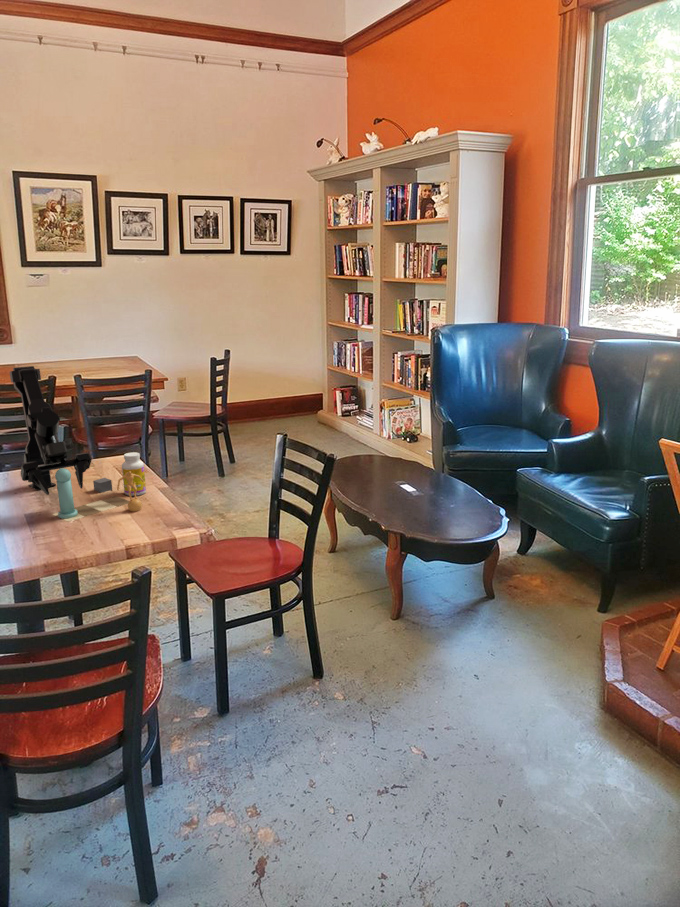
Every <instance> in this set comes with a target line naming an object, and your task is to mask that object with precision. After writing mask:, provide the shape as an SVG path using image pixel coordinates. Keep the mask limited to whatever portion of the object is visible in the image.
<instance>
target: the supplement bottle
mask: <svg viewBox="0 0 680 907" xmlns="http://www.w3.org/2000/svg"><path fill="white" fill-rule="evenodd" d="M140 457H141V455H140V452H133V451H132V452H127V453H124V454H123V460H124V462H123V463H122V464H121V472H122V477H123V476H124V475H125V474H126V473H127V472H129V471H130V472H131V473H132V474H135V475H139V476H140V477H141V478H142V479H143V481H144V482H145V484H144V482H142V481H141V479H140V478H139V477H134V478H133V483H135V485H136V488H137V492H136V497H137V496H142V495H144V494H146V492H147V486H146V484H147V483H146V476H145V475H146V474H145V465H144V462H143V461H142V460H140V459H141V458H140ZM122 482H123V483H122V484H123V492H124V494H125V495H126V496H129V491H128V489H127V487H126V484H128V482H127V480H126V478H124V479H122ZM134 491H135V490H134V489H133V487H131V497H135V496H134ZM129 497H130V496H129Z"/></svg>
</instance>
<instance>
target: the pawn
mask: <svg viewBox="0 0 680 907" xmlns="http://www.w3.org/2000/svg"><path fill="white" fill-rule="evenodd" d="M54 478H55V480H56V487H57V495H58V496H57V497H58V503H59V504H58V505H59V511H58V512H57V513H58V517H57V518H59V519H61V518H62V519H61V520H63V519H67V518H73V517H75V516H77V515H78V512H77V510H76V509H74V508H75V504H74V503H75V502H74V494H73V486H72V485H73V484H72V479H71V478H72V473H71V471H70V470H69V469H67V468H61V469H57V470H56V472H55V475H54Z"/></svg>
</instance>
